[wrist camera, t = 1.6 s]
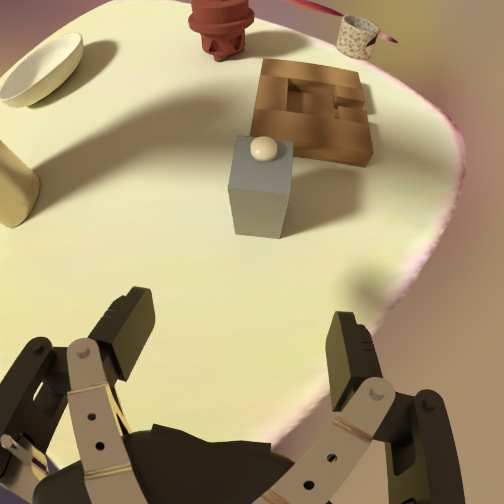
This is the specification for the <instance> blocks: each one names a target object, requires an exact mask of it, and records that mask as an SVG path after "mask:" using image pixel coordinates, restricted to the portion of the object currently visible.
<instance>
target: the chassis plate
mask: <svg viewBox="0 0 504 504" xmlns="http://www.w3.org/2000/svg"><path fill="white" fill-rule="evenodd" d="M363 104H364V97H363V92H362V88H361V83H360V79H359V75H358V72H354V71H350V70H345V69H340V68H335V67H329V66H324V65H318V64H311V63H304V62H296V61H288V60H278V59H266V58H263V63H262V68H261V74H260V79H259V85H258V91H257V97H256V102H255V108H254V114H253V120H252V126H251V132H250V137H262V136H265V137H269V138H272V139H279V140H288V141H293V156H295V157H303V158H310V159H317V160H324V161H331V162H337V163H343V164H349V165H354V166H360V167H365V166H366V165H367V163H368V161H369V160H370V158H371V156H372V154H373V150H372V143H371V136H370V130H369V124H368V118H367V113H366V111H361V109H362V106H363Z"/></svg>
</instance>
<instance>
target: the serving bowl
mask: <svg viewBox="0 0 504 504" xmlns="http://www.w3.org/2000/svg"><path fill="white" fill-rule="evenodd" d="M82 54H83V39H82V36H81V35H80V34H79V33H70V34H66V35H63V36H61V37H58V38H56V39H54V40H52V41H50V42H48V43H46V44H45V45H43V46H42V47H40V48H39V49H37V50H36V51H35V52H33V53H32V54H31V55H29V56H28V57H27V58H26V59H25V60H24V61H22V62H21V63H20V64H19V65H18V66H17V67H16V68H15V70H14V71H13V72H12V73H11V74H10V76H9V77H8V78H7V80H6V81H5V83H4V84H3V86H2V88H1V90H0V100H1V101H2V102H3V103H5V104H6V105H8V106H10V107H15V108H19V107H25V106H28V105H31V104H33V103H35V102H37V101H39V100H41V99H42V98H44V97H46V96H47V95H48V94H50V93H51V92H53V91H54V90H55V89H56V88H57V87H59V86H60V85H61V84H62V83H63V82H64V81H65V80H66V79H67V78H68V77H69V76H70V75H71V74H72V72H73V71H74V70H75V68H76V67H77V65H78V64H79V62H80V60H81V57H82Z"/></svg>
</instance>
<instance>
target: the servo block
mask: <svg viewBox="0 0 504 504" xmlns="http://www.w3.org/2000/svg"><path fill="white" fill-rule="evenodd" d="M292 159H293V141H288V140H279V139H272V138H269V137H265V136H262V137H246V136H237V141H236V146H235V152H234V157H233V162H232V168H231V173H230V179H229V184H228V193H229V198H230V204H231V210H232V216H233V222H234V228H235V234H238V235H247V236H257V237H266V238H275V239H280V235H281V231H282V227H283V223H284V219H285V215H286V210H287V206H288V202H289V198H290V191H291V176H292Z"/></svg>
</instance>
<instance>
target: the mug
mask: <svg viewBox="0 0 504 504" xmlns="http://www.w3.org/2000/svg"><path fill="white" fill-rule="evenodd" d="M378 33H379V28H378V26H377V25H376V24H374V23H373V22H371V21H369V20H367V19H364V18H362V17H358V16H353V15H346V16H343V18H342V23H341V27H340V32H339V36H338V40H337V44H336V47H337V49H338V50H339V51H340V52H341V53H342V54H344V55H346V56H348V57H351V58H354V59H358V60H367V59H369V58H370V56H371V53H372V50H373V47H374V44H375V42H376V39H377V36H378Z"/></svg>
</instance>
